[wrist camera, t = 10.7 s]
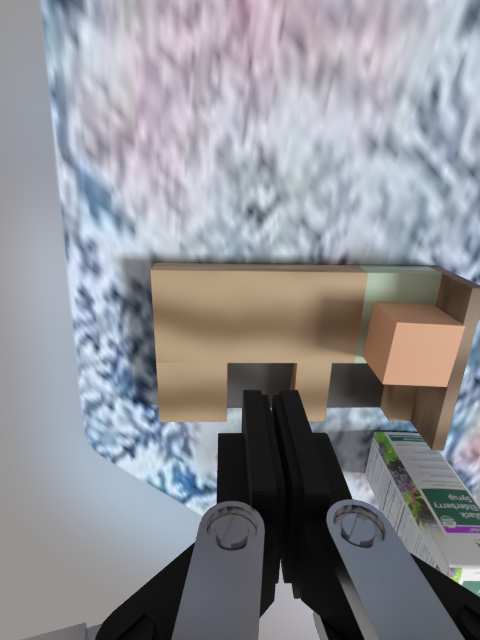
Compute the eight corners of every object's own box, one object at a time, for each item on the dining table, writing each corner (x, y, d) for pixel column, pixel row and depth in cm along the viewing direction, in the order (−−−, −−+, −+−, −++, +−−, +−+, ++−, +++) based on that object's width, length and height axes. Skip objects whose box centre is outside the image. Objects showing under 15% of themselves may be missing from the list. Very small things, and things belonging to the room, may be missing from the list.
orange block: (374, 301, 31) (397, 322, 27) (433, 305, 32) (465, 325, 28) (362, 356, 33) (382, 384, 29) (419, 359, 34) (446, 386, 29)
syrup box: (427, 431, 40) (533, 567, 26) (414, 476, 42) (505, 624, 28) (372, 429, 39) (450, 566, 26) (362, 475, 41) (429, 624, 28)
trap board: (155, 262, 32) (139, 284, 26) (438, 266, 33) (486, 288, 27) (164, 406, 37) (152, 452, 31) (408, 405, 38) (443, 450, 32)
